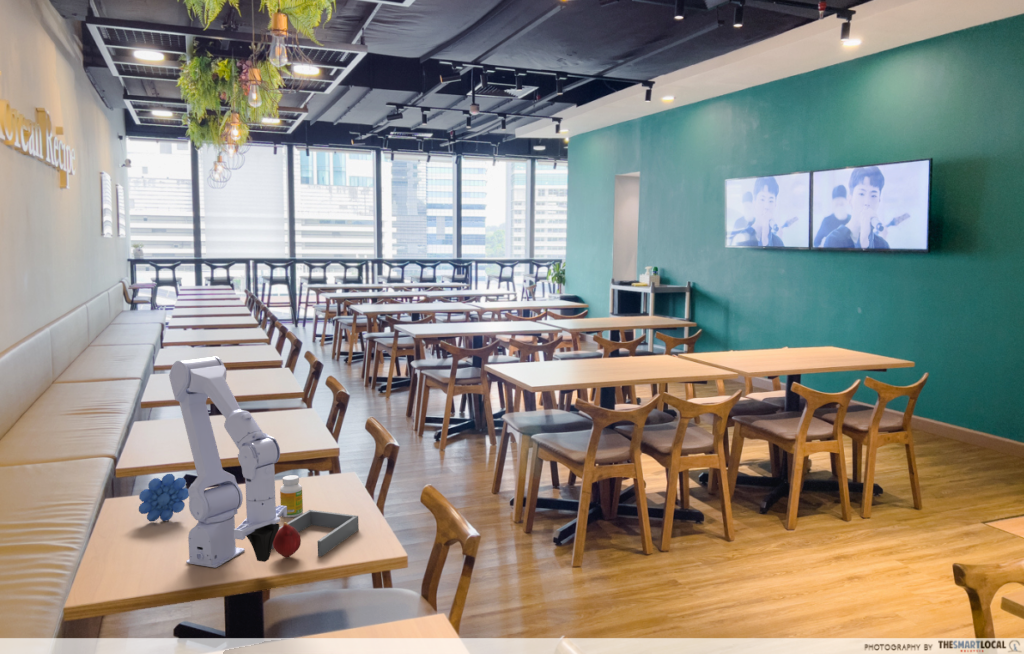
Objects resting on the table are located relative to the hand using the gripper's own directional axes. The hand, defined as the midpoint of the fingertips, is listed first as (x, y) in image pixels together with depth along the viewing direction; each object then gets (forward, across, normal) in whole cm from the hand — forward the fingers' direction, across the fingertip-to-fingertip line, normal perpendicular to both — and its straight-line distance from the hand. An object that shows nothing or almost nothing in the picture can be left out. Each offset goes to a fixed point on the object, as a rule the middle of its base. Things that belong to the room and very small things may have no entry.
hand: (263, 559), depth 147 cm
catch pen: (+3, +19, 0) cm, 19 cm away
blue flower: (+3, +18, +43) cm, 47 cm away
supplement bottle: (+3, +31, +15) cm, 35 cm away
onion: (+3, +8, 0) cm, 9 cm away
